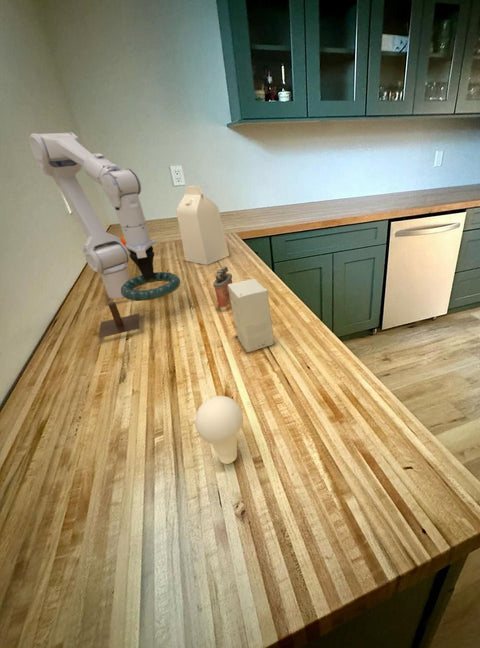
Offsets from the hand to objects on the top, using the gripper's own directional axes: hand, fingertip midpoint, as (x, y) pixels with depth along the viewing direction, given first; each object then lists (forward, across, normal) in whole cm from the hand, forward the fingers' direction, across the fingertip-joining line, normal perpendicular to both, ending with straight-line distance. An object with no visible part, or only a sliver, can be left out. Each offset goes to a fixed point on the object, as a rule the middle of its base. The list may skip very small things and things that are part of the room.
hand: (149, 277), depth 88 cm
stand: (+9, -7, +10) cm, 15 cm away
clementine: (+10, +70, +6) cm, 71 cm away
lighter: (+10, -7, -18) cm, 21 cm away
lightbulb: (+10, -58, -5) cm, 59 cm away
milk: (+10, +38, -21) cm, 44 cm away
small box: (+10, -29, -18) cm, 36 cm away
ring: (0, -6, 0) cm, 6 cm away
